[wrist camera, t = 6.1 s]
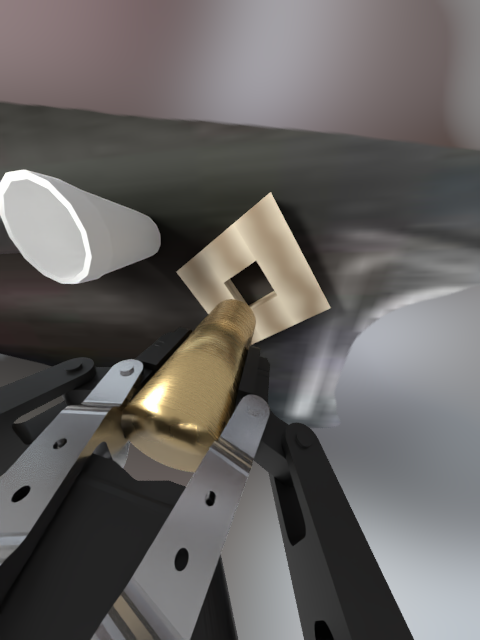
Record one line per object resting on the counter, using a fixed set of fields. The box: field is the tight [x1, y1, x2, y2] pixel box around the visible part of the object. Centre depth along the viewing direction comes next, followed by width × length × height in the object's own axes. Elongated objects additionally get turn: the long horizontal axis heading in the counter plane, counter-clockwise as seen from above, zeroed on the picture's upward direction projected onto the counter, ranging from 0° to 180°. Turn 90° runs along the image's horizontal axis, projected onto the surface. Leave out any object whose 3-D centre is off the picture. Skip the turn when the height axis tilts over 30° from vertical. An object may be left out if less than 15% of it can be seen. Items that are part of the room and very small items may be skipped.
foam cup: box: [0, 170, 161, 284], centre depth 21 cm, size 10×9×13 cm
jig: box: [177, 192, 331, 345], centre depth 26 cm, size 16×16×4 cm
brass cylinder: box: [121, 299, 256, 472], centre depth 10 cm, size 4×4×10 cm
